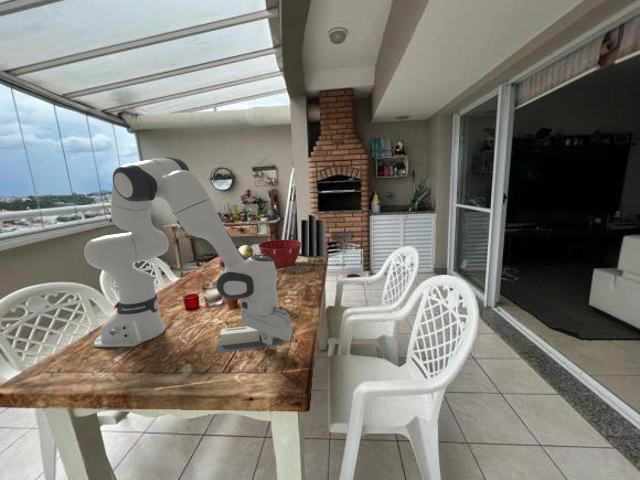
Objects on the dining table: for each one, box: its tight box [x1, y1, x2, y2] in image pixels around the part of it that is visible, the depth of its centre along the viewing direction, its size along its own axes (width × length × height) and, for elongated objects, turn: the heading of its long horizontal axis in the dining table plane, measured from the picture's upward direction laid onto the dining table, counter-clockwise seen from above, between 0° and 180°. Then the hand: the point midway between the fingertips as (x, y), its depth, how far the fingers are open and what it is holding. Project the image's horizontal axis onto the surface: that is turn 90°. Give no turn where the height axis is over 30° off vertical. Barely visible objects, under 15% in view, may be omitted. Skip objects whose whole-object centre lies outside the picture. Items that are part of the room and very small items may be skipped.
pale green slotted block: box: [219, 326, 261, 346], centre depth 100 cm, size 13×4×4 cm, turn 99°
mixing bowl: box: [258, 239, 302, 270], centre depth 191 cm, size 28×28×15 cm
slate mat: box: [215, 335, 284, 354], centre depth 102 cm, size 22×15×1 cm
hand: (267, 343), depth 95 cm, fingers closed
